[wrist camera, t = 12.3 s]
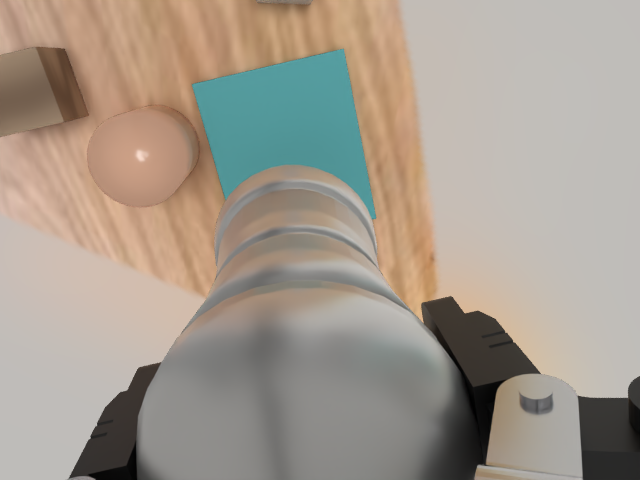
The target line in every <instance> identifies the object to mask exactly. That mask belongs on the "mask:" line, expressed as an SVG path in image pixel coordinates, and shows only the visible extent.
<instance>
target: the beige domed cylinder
mask: <svg viewBox="0 0 640 480" xmlns="http://www.w3.org/2000/svg"><path fill="white" fill-rule="evenodd" d="M199 148H200V147H199V140H198V136H197V133H196V131H195V129H194V127H193V126H192V124H191V123H190V122H189V120H188V119H187V118H186V117H185V116H183V115H182V114H181V113H179V112H178V111H176V110H174V109H172V108H169V107H166V106H161V105H150V106H145V107H142V108H138V109H135V110H132V111H129V112H126V113H123V114H119V115H116V116H113V117H111V118H109V119H107V120H106V121H104V122H103V123H102V124H101V125H100V126H98V128H97V129H96V130H95V131H94V133H93V135H92V136H91V139H90V141H89V145H88V150H87V161H88V167H89V170H90V173H91V175H92V178H93V179H94V181H95V183H96V184H97V185H98V187H99V188H100V189H101V190H102V191H103V192H104V193H105V194H106V195H107V196H109V197H110V198H112V199H113V200H115V201H117V202H119V203H121V204H124V205H127V206H132V207H149V206H153V205H157V204H159V203H161V202H163V201H165V200H166V199H168V198H169V197H170V196H171V195H172V194H173V193H174V192H175V191H176V190H177V189H178V187H179V186H180V185H181V184H182V183H183V181H184V180H185V179H186V178H187V176H188V175H189V174H190V173H191V172H192V170H193V169H194V167H195V165H196V163H197V161H198V157H199Z"/></svg>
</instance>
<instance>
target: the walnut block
mask: <svg viewBox="0 0 640 480" xmlns="http://www.w3.org/2000/svg"><path fill="white" fill-rule="evenodd" d="M88 115H89V114H88V111H87V109H86V106H85V103H84V100H83V98H82V95H81V92H80V89H79V87H78V84H77V81H76V78H75V76H74V73H73V70H72V67H71V65H70V62H69V59H68V56H67V54H66V51H65V49H61V48H46V47H32V48H28V49H24V50H20V51H15V52H11V53H7V54H3V55H0V137H3V136H7V135H11V134H15V133H20V132H24V131H28V130H32V129H37V128H41V127H45V126H49V125H54V124H58V123H62V122H66V121H70V120H74V119H77V118H81V117H85V116H88Z"/></svg>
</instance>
